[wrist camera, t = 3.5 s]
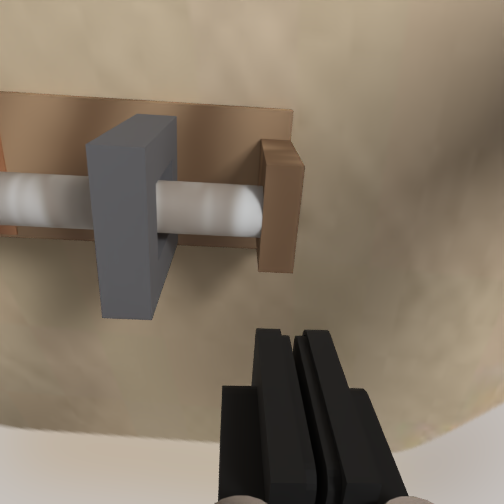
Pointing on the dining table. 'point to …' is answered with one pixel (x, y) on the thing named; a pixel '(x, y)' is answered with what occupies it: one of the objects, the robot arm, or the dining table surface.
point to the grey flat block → (131, 212)
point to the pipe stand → (167, 192)
